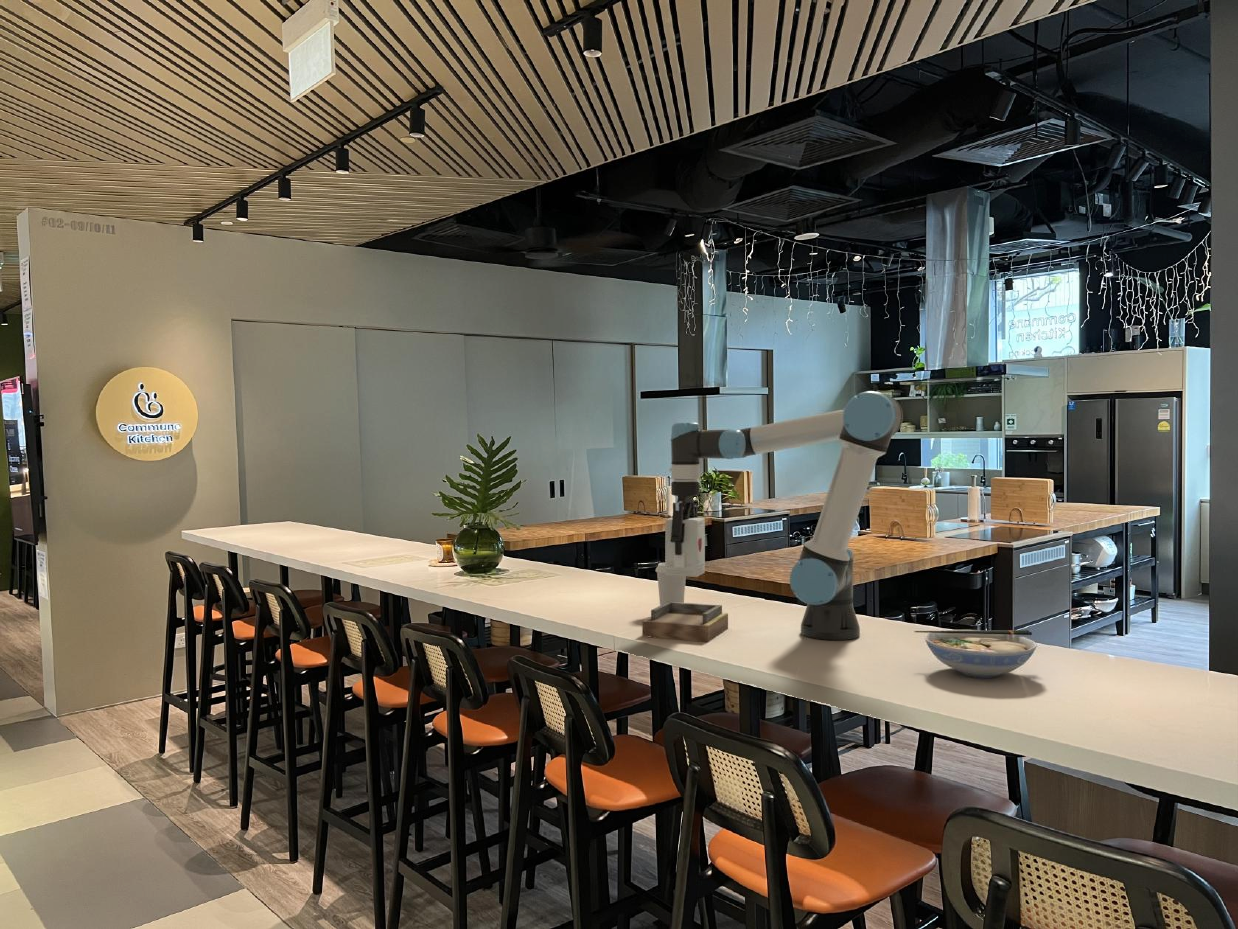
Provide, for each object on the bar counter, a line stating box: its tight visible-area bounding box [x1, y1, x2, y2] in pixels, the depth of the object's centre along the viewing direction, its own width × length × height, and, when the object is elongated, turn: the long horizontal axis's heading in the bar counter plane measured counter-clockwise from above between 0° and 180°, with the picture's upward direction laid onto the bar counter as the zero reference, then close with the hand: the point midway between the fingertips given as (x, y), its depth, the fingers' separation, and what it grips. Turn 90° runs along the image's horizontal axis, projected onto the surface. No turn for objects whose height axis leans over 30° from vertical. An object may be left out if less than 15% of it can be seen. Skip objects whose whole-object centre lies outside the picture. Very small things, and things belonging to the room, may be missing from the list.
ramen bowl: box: [914, 629, 1038, 679], centre depth 195 cm, size 25×23×8 cm
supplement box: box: [664, 517, 706, 578], centre depth 239 cm, size 9×9×15 cm
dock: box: [641, 602, 729, 643], centre depth 240 cm, size 18×18×6 cm
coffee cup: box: [655, 562, 687, 606], centre depth 265 cm, size 10×10×15 cm
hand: (685, 564), depth 240 cm, fingers closed on supplement box, 9 cm apart
